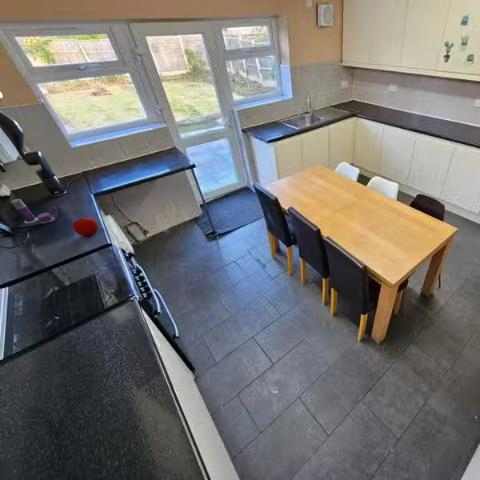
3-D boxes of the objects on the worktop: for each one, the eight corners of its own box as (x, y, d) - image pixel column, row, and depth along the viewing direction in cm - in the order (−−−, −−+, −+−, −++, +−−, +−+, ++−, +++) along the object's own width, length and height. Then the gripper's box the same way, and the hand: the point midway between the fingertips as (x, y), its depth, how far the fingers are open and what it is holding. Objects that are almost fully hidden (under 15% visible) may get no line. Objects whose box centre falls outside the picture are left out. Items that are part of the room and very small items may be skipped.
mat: (25, 219, 182) (25, 219, 182) (59, 213, 188) (59, 213, 188) (18, 228, 174) (17, 227, 174) (53, 221, 180) (53, 221, 179)
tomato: (76, 240, 162) (65, 225, 155) (81, 230, 171) (71, 215, 164) (99, 236, 166) (90, 220, 159) (103, 226, 174) (94, 211, 167)
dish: (43, 218, 182) (39, 213, 180) (54, 216, 184) (50, 211, 182) (39, 223, 178) (35, 218, 175) (51, 221, 179) (47, 216, 177)
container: (30, 222, 179) (14, 202, 170) (25, 221, 180) (8, 201, 170) (37, 218, 182) (22, 199, 173) (32, 218, 183) (16, 198, 174)
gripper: (-21, 145, 162) (-1, 171, 172) (-35, 154, 152) (-13, 180, 162) (-5, 144, 164) (14, 169, 174) (-18, 152, 154) (3, 178, 164)
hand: (1, 174), depth 168 cm, fingers open, 8 cm apart
